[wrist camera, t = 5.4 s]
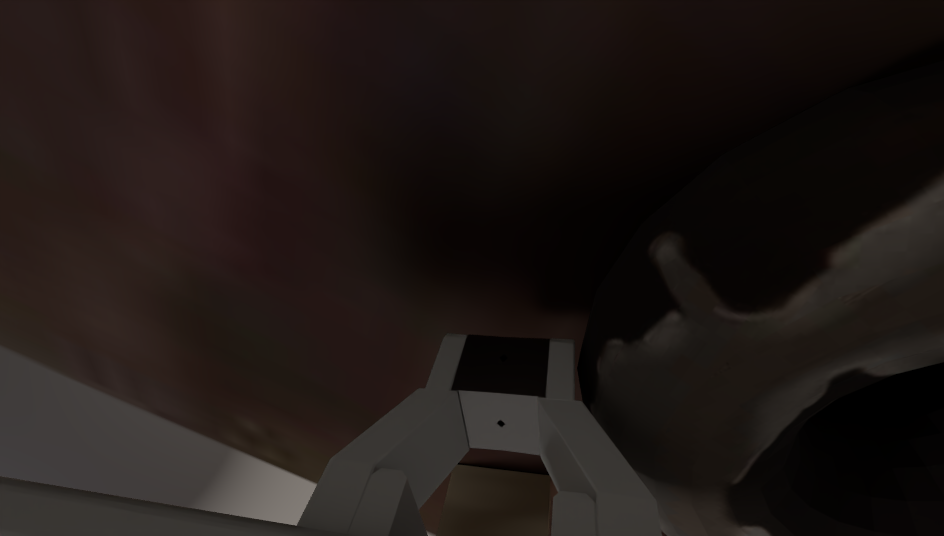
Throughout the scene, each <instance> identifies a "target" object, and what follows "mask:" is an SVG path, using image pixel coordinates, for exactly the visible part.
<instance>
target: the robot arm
mask: <svg viewBox="0 0 944 536" xmlns="http://www.w3.org/2000/svg"><path fill="white" fill-rule="evenodd" d="M574 397H575V342H574V340H573V339H544V338H519V337H498V336H484V335H470V334H469V335H463V334H450V333H447V334H446V336H445V337H444V338H443V340H442V343H441V346H440V349H439V352H438V354H437V357H436V360H435V363H434V365H433V368H432V371H431V374H430V377H429V379H428V382H427V385H426V388H425V389H422V388H419V389H417V390H416V391H415V392H414V393H412V394H411V395H410V396H408V397H407V398H406V399H405V400H403V401H402V402H401V403H400V404H398V405H397V406H396V407H395V408H393V409H392V410H391V411H390V412H388V413H387V414H386V415H385V416H383V417H382V418H381V419H380V420H378V421H377V422H376V423H375V424H373V425H372V426H371V427H370V428H368V429H367V430H366V431H365V432H363V433H362V434H361V435H360V436H358V437H357V438H356V439H355V440H353V441H352V442H351V443H350V444H348V445H347V446H346V447H345V448H343V449H342V450H341V451H340V452H338V453H337V454H336V455H335V456H333V457H332V458H331V459H330V461H329V463H328V465H327V467H326V469H325V470H324V472H323V474H322V476H321V478H320V480H319V482H318V484H317V486H316V488H315V490H314V492H313V494H312V497H311V498H310V500H309V502H308V504H307V506H306V508H305V510H304V512H303V514H302V516H301V518H300V520H299V522H298V524H297V526H295V525H289V524H283V523H277V522H271V521H264V520H259V519H252V518H246V517H240V516H234V515H229V514H223V513H217V512H210V511H205V510H199V509H192V508H187V507H181V506H174V505H169V504H163V503H157V502H150V501H145V500H139V499H132V498H127V497H120V496H114V495H109V494H103V493H97V492H91V491H85V490H79V489H73V488H67V487H61V486H55V485H49V484H43V483H37V482H31V481H25V480H20V479H14V478H8V477H2V476H0V536H428V535H427V532H426V530H425V527H424V524H423V521H422V518H421V516H420V513H419V509H420V508H421V506H422V505H423V504H424V503H425V502H426V500H427V499H428V498H429V497H430V496H431V495H432V493H433V492H434V491H435V490H436V489H437V487H438V486H439V485H440V484H441V483H442V482H443V480H444V479H445V478H446V477H447V476H448V474H449V473H450V472H451V471H452V470H453V469H454V467H455V466H456V465H457V464H458V463H459V461H460V460H461V459H462V458H463V457H464V456H465V454H466V453H467V452H468V451H469V448H481V449H494V450H505V451H513V452H520V453H527V454H535V455H541V459H542V461H543V463H544V465H545V467H546V469H547V471H548V473H549V475H550V477H551V479H552V481H553V483H554V485H555V487H556V489H557V491H558V494H556V495H555V496H554V497H553V513H552V529H551V536H662V534H661V527H660V520H659V513H658V507H657V501H656V499H655V498H654V497H653V495H652V494H651V493H650V491H649V490H648V489H647V487H646V486H645V485H644V483H643V482H642V481H641V479H640V478H639V477H638V475H637V474H636V473H635V471H634V470H633V469H632V467H631V466H630V465H629V463H628V462H627V461H626V459H625V458H624V457H623V455H622V454H621V453H620V451H619V450H618V449H617V447H616V446H615V445H614V443H613V442H612V441H611V439H610V438H609V437H608V435H607V434H606V433H605V431H604V430H603V429H602V427H601V426H600V425H599V423H598V422H597V421H596V419H595V418H594V417H593V415H592V414H591V413H590V411H589V410H588V409H587V407H586V406H585V405H584V403H583V402H582V401H575V400H574Z"/></svg>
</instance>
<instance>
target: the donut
mask: <svg viewBox="0 0 944 536" xmlns="http://www.w3.org/2000/svg"><path fill="white" fill-rule="evenodd" d="M942 362H944V60H943V61H939V62H936V63H933V64H929V65H926V66H922V67H919V68H916V69H912V70H909V71H905V72H902V73H899V74H895V75H892V76H889V77H885V78H882V79H878V80H875V81H872V82H868V83H865V84H862V85H858V86H855V87H851V88H848V89H846V90H844V91H842V92H840V93H838V94H836V95H834V96H832V97H830V98H828V99H826V100H824V101H822V102H821V103H819V104H817V105H815V106H813V107H811V108H809V109H807V110H806V111H804V112H802V113H800V114H798V115H796V116H794V117H792V118H790V119H789V120H787V121H785V122H783V123H781V124H779V125H777V126H775V127H773V128H772V129H770V130H768V131H766V132H764V133H762V134H760V135H758V136H757V137H755V138H753V139H751V140H749V141H747V142H745V143H743V144H741V145H740V146H738V147H736V148H734V149H732V150H730V151H728V152H726V153H724V154H723V155H721V156H720V157H719V158H718V159H717V160H716V161H714V162H713V163H712V164H711V165H710V166H709V167H707V168H706V169H705V170H704V171H703V172H702V173H700V174H699V175H698V176H697V177H696V178H695V179H693V180H692V181H691V182H690V183H689V184H688V185H686V186H685V187H684V188H683V189H682V190H681V191H679V192H678V193H677V194H676V195H675V196H673V197H672V198H671V199H670V200H669V201H668V202H666V203H665V204H664V205H663V206H662V207H661V208H659V209H658V210H657V211H656V212H655V213H654V214H652V215H651V216H650V217H649V218H648V219H647V220H646V221H644V222H643V223H642V224H641V225H640V227H639V228H638V230H637V231H636V233H635V234H634V236H633V237H632V239H631V240H630V241H629V243H628V244H627V246H626V247H625V249H624V250H623V252H622V253H621V255H620V256H619V258H618V259H617V261H616V262H615V264H614V265H613V267H612V268H611V270H610V271H609V273H608V274H607V275H606V277H605V278H604V280H603V281H602V283H601V284H600V286H599V287H598V289H597V290H596V294H595V297H594V301H593V305H592V309H591V313H590V317H589V321H588V325H587V328H586V332H585V336H584V340H583V344H582V348H581V353H580V357H579V362H578V367H577V370H578V376H579V382H580V388H581V394H582V400H583V403H584V405H585V406H586V407H587V409H588V410H589V411H590V413H591V414H592V415H593V417H594V418H595V419H596V421H597V422H598V423H599V425H600V426H601V427H602V429H603V430H604V431H605V433H606V434H607V435H608V437H609V438H610V439H611V441H612V442H613V443H614V445H615V446H616V447H617V449H618V450H619V451H620V453H621V454H622V455H623V457H624V458H625V459H626V461H627V462H628V463H629V465H630V466H631V467H632V469H633V470H634V471H635V473H636V474H637V475H638V477H639V478H640V479H641V481H642V482H643V483H644V485H645V486H646V487H647V489H648V490H649V491H650V493H651V494H652V495H653V497H654V498H655V499H656V501H657V507H658V513H659V520H660V527H661V531H663V532H664V533H665V534H666V535H668V536H944V392H942V393H940V394H937V395H934V396H932V397H929V398H927V399H924V400H921V401H919V402H916V403H911V404H906V405H902V406H897V407H893V408H888V409H884V410H879V411H875V412H861V413H847V414H828V413H818V412H819V411H821V410H822V409H824V408H825V407H826V406H828V405H829V404H831V403H832V402H834V401H835V400H837V399H838V398H840V397H843V396H845V395H847V394H850V393H852V392H854V391H857V390H859V389H861V388H864V387H866V386H868V385H871V384H873V383H875V382H878V381H880V380H882V379H885V378H887V377H890V376H892V375H894V374H898V373H902V372H906V371H910V370H914V369H918V368H922V367H926V366H930V365H934V364H938V363H942Z"/></svg>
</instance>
